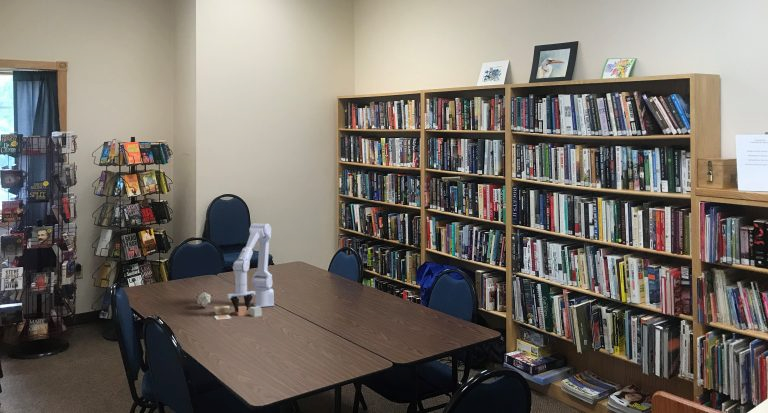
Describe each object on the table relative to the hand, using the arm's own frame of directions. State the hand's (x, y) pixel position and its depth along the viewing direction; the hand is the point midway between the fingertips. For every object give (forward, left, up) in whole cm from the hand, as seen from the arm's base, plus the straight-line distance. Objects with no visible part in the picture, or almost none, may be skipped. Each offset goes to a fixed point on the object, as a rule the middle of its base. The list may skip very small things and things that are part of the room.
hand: (241, 310), depth 309 cm
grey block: (-6, +5, -2) cm, 8 cm away
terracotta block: (0, 0, -2) cm, 2 cm away
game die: (+15, -22, -2) cm, 27 cm away
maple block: (+8, -8, -2) cm, 12 cm away
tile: (+10, +3, -2) cm, 11 cm away
